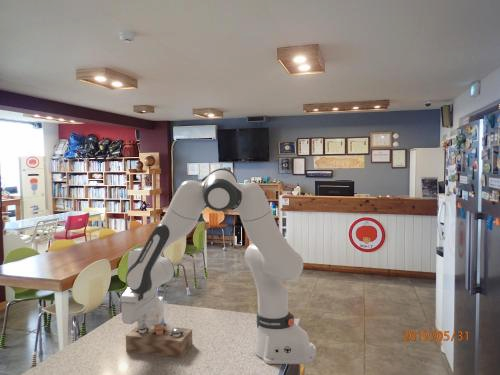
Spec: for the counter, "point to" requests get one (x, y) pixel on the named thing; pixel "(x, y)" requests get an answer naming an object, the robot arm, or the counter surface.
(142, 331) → the grey plug far
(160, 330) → the terracotta plug
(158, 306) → the ink box
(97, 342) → the counter surface
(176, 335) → the grey plug near
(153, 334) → the block
